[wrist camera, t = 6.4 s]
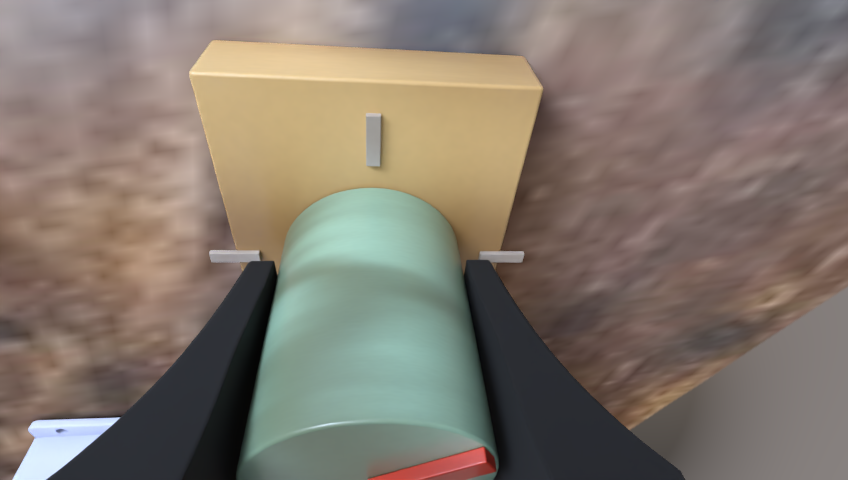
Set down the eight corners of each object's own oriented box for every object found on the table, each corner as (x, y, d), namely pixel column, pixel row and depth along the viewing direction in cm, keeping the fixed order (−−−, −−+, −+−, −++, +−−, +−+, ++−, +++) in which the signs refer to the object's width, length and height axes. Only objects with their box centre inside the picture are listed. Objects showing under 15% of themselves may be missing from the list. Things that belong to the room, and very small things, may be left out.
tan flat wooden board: (482, 314, 20) (492, 357, 18) (255, 316, 19) (244, 363, 17) (550, 56, 12) (576, 91, 11) (181, 37, 11) (149, 73, 10)
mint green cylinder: (346, 327, 16) (333, 553, 11) (245, 232, 13) (165, 492, 8) (482, 276, 15) (535, 505, 10) (409, 156, 12) (434, 409, 7)
